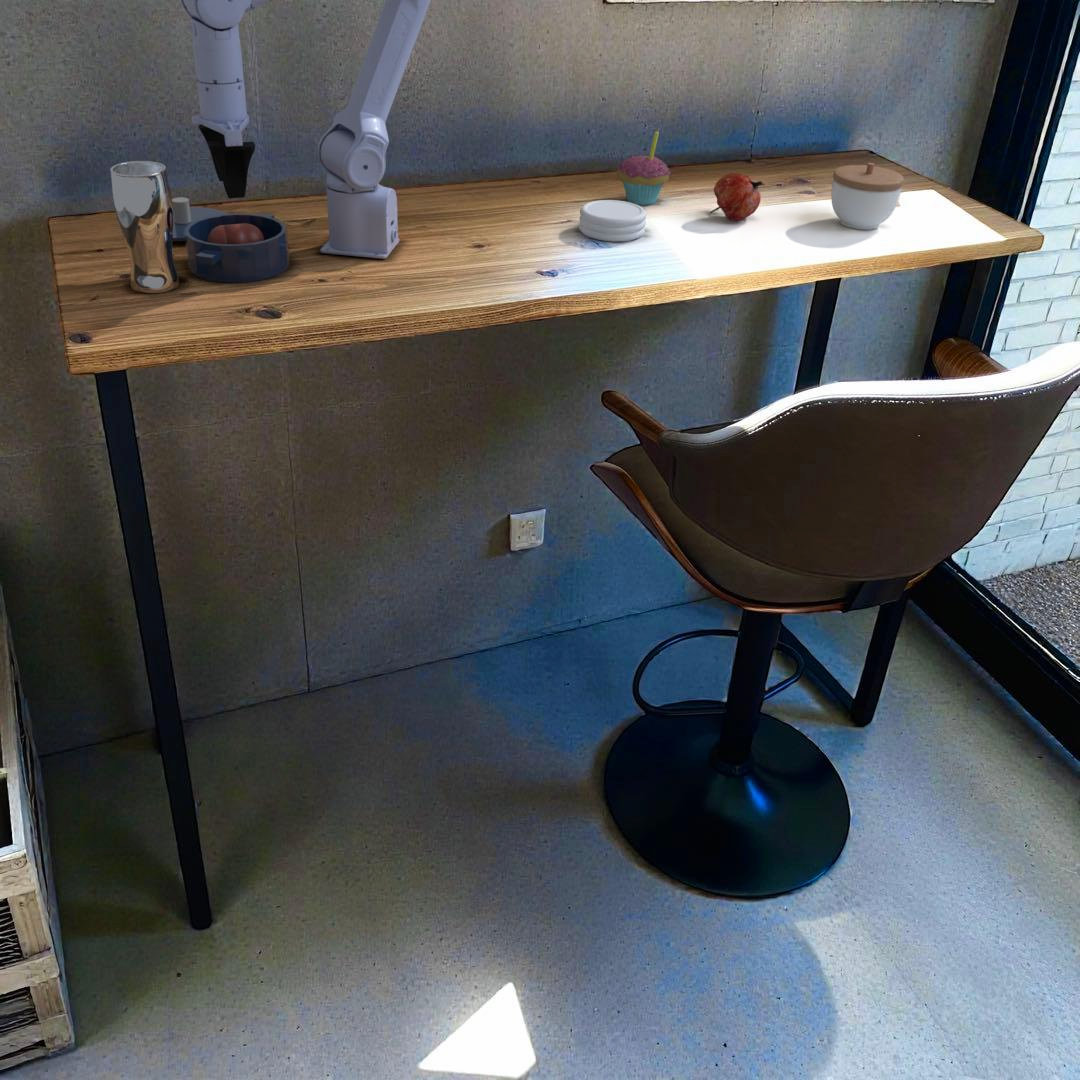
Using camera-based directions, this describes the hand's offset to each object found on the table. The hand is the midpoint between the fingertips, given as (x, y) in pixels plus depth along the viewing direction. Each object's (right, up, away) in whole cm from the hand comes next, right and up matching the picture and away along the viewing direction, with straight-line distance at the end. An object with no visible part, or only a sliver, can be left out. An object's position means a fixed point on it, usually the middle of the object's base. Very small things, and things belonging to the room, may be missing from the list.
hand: (231, 188), depth 153 cm
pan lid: (-11, 0, +17) cm, 20 cm away
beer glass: (-9, -13, -1) cm, 16 cm away
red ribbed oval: (0, -8, +5) cm, 10 cm away
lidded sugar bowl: (+91, +4, +32) cm, 97 cm away
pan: (0, -9, +6) cm, 10 cm away
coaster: (+51, 0, +24) cm, 57 cm away
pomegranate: (+71, +5, +32) cm, 78 cm away
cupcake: (+57, +9, +38) cm, 69 cm away
